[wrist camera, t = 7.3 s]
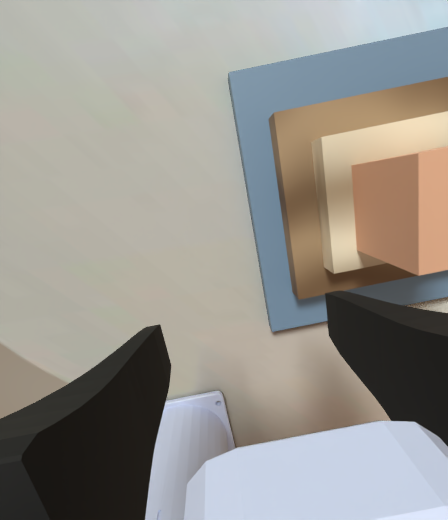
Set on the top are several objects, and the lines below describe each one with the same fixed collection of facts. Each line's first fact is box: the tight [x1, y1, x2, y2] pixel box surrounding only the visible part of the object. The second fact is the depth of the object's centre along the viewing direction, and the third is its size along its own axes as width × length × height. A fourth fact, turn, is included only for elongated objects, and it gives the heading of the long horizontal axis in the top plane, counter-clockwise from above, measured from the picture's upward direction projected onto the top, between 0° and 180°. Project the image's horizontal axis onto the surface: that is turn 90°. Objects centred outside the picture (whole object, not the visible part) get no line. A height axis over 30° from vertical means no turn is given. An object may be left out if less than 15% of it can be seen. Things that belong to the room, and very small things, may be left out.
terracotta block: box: [351, 146, 448, 276], centre depth 13 cm, size 5×5×5 cm
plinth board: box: [228, 27, 448, 332], centre depth 17 cm, size 18×16×4 cm
